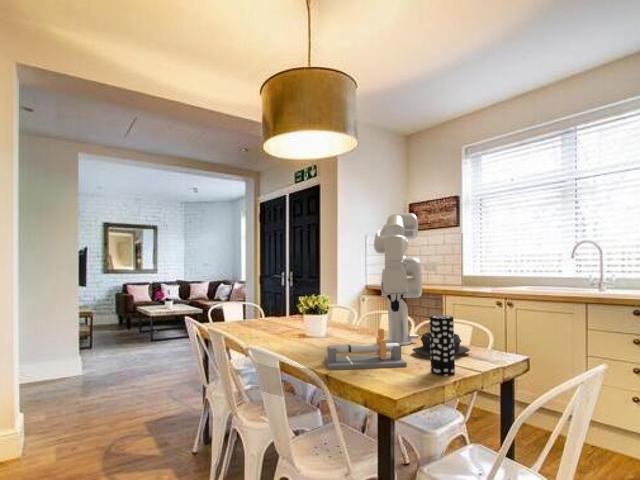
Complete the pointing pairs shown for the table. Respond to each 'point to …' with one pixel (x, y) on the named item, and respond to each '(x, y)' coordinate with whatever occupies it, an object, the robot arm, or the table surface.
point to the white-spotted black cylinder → (442, 345)
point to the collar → (381, 343)
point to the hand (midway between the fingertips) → (395, 311)
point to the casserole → (426, 345)
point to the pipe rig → (363, 357)
